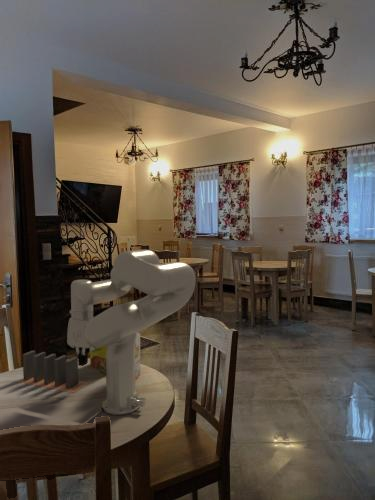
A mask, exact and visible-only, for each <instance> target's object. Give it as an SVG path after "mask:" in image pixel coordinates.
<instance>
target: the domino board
mask: <svg viewBox="0 0 375 500" xmlns="http://www.w3.org/2000/svg"><path fill="white" fill-rule="evenodd" d="M17 383H19V384H20V383H21V384H26V385H31V386H37V387H42V388H45V389H51V390H52V389H53V390H57V391H62V392H68V393H73V394H74V393H76V392H78V391H79V390H80V389H81V388H83V387H85V386H87V385H88V384H89V382H87V381H80V380H78V384H77V385H75V386H74V387H72V388H70V389H67V388H66V383H64V384H63V385H61V386H59V387H56V386H55V381H54V382H52V383H50V384H48V385H46V384H44V379H43V380H41V381H40V382H38V383H36V382H34V377H33V378H31V379H29V380H27V381H25V380H24V378H22V379H20V380H18V381H17Z"/></svg>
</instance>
